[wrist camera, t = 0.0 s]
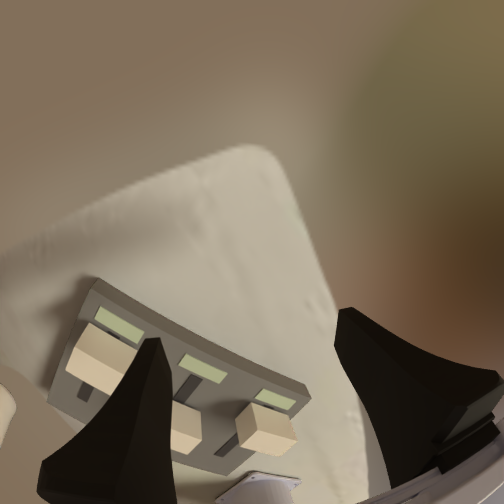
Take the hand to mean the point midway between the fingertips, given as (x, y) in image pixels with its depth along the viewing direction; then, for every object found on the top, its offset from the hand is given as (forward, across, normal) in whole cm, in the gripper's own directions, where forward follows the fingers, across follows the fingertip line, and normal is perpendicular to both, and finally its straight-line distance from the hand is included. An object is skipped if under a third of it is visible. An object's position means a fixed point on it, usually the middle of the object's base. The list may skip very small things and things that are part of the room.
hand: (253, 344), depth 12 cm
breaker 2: (+6, -1, +15) cm, 16 cm away
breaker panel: (+8, +7, +13) cm, 17 cm away
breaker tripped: (+6, +6, +12) cm, 15 cm away
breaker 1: (+7, +10, +6) cm, 13 cm away
